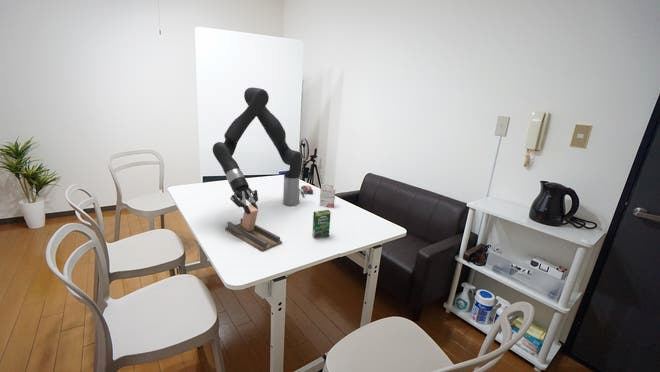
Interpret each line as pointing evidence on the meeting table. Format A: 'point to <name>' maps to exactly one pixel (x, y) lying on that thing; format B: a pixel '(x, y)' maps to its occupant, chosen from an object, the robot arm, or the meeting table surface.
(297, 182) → the robot arm
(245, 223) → the light orange-brown block
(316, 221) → the coffee box
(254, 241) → the door track
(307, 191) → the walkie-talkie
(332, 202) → the ink cartridge box
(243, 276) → the meeting table surface
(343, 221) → the meeting table surface
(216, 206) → the meeting table surface
